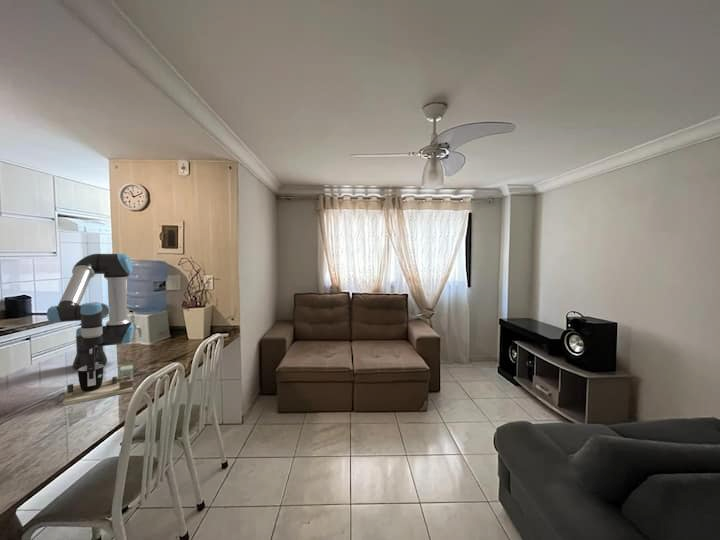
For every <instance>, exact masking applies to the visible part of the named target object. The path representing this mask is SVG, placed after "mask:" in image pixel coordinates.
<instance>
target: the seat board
mask: <svg viewBox="0 0 720 540" xmlns="http://www.w3.org/2000/svg"><path fill="white" fill-rule="evenodd" d="M66 385H67V386H66V387H67V388H66V389H67V392H66V394H65V396H64V399H63V401H62V406H68V405H72V404H76V403H77V404H78V403H83V402H86V401H88V402H89V401H92V400H97V399H103V398H107V397H108V398H109V397H113V396H117V395H123V394H128V393H133V392H134V378H133V379H130V375H126V376H124V380H122V381H120V377H118V376H113V377H112V378H109V379H105V380H104V379H103V380H102V385H101V387H100V388H99V389H96V390H93V391H88V392H84V391H82V390H81V387H80V384H76V385H74V384H73V383H71V384H66Z"/></svg>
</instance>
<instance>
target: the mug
mask: <svg viewBox="0 0 720 540" xmlns="http://www.w3.org/2000/svg"><path fill="white" fill-rule="evenodd" d="M90 369H93V368H90ZM85 371H87V366H84V367H81V368H79V369H77V378H78V383H79V384H78V385H80V387H81V390H82V391H84V392H88V391H93V390H96V389H99V388H100V387H101V385H102V381H103V380H104V365H102V364H95V376H96V385H93V386H88V379H87V373H85Z"/></svg>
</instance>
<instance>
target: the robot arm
mask: <svg viewBox="0 0 720 540" xmlns="http://www.w3.org/2000/svg"><path fill="white" fill-rule="evenodd" d="M71 273H72V275H71V277H70V279H69V282H68V284H67V285H66V288H65V290H64V292H63V294H62V296H61V297H60V299H59V303H58V304H57V305H54V306H50V307H49V308H47V312H46V317H47V321H49V322H50V323H62V322H63V323H65V322H80V327H78V328H77V329H76V331H75V333H76V335H75V343H76V344H75V345H76V354H75V357H74V359H73V362H72V369H74V370H78V369H79V368H81V367H84V366H87V371H85V373H87V379H88V386H93V385H96V376H95V364H102V365H103V366H104V365H106V364H107V363H108V357H107V355H106V353H105V351H104V346H105V347H106V346H116V345H117V346H118V345H125V344H126V345H127V344H130V343H131V342H132V340H133V337H134V334H135V324H134V323H132V322H131V321H132V320H130V319H129V318H128V300H127V298H128V297H127V279H128V278H129V277H130V275H131V274H132V273H133V262H132V259H131V257H130V255H128V254H125V253H92V254H89V255H87V256H84V257H83V258H81V259H80V260H79V261H77V262H76V264H74V266H73V268H72V270H71ZM95 275H103V277H104V279H106V281H107V297H108V298H107V299H108V305H107V304H106V303H104V302H103V303H102V302H99V301H98V302H96V301H95V302H94V301H93V302H86V303H82V304H81V302H82V300H83V297H84V295H85V292H86V289H87V287H88V286H89V283H90V282H91V280H92V278H94V277H95ZM106 317H108V319H109V320H108V321H107V322H105V325H104V324H103V319H105V318H106ZM90 368H93V369H90Z"/></svg>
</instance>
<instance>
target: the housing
mask: <svg viewBox="0 0 720 540" xmlns="http://www.w3.org/2000/svg"><path fill="white" fill-rule="evenodd" d="M128 372H129V376H130V379H133V380H134V367H133V364H130V365H124V366H120V369H119V378H120V381H122V380H124V377H125V373H128Z"/></svg>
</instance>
